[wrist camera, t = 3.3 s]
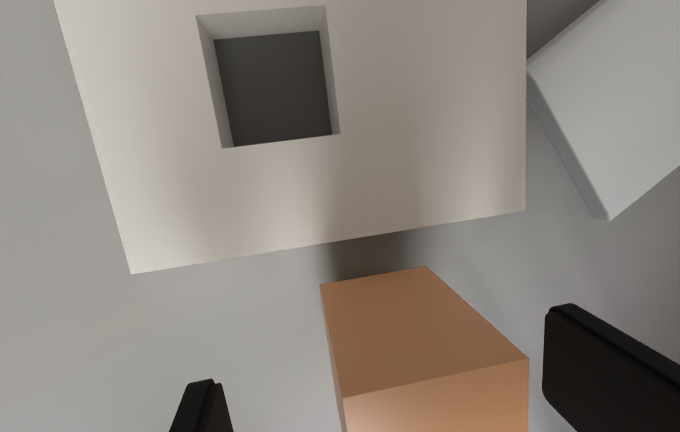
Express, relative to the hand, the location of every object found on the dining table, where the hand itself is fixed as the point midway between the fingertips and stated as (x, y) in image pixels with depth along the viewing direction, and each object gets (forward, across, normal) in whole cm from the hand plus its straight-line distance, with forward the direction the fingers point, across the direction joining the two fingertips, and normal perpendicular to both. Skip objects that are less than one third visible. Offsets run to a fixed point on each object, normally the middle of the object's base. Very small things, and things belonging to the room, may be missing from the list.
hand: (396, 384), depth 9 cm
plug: (+6, 0, +1) cm, 6 cm away
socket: (+6, 0, -9) cm, 11 cm away
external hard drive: (+7, -15, -8) cm, 18 cm away
